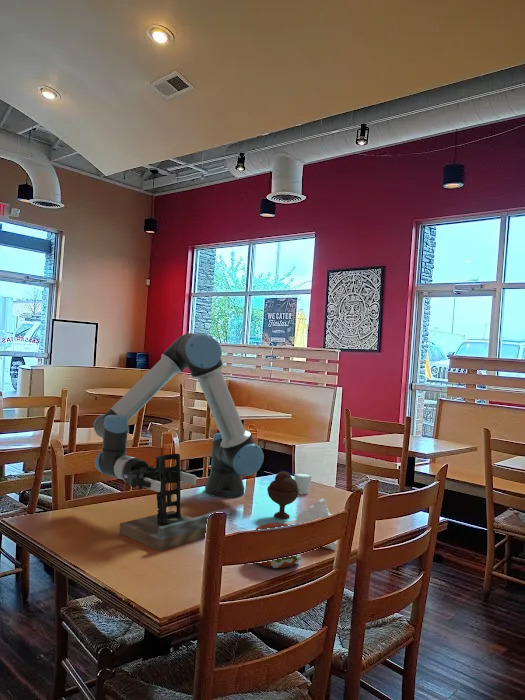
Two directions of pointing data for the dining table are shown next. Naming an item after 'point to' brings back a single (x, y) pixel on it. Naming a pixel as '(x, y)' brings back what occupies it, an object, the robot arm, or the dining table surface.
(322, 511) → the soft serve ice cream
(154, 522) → the board
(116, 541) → the dining table surface
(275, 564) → the burger
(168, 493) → the holder
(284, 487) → the ice cream bowl
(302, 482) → the white cup
